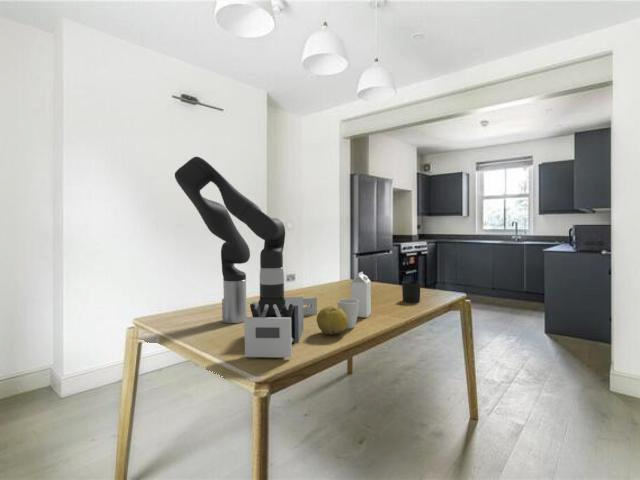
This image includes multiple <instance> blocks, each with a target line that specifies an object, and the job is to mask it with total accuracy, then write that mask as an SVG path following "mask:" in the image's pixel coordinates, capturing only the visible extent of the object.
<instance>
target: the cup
mask: <svg viewBox="0 0 640 480" xmlns="http://www.w3.org/2000/svg"><path fill="white" fill-rule="evenodd" d="M337 308H340V309H342V310H343V311H344V313H345V314H346V315H347V317H348V326H347V327H346V329H354V328H355V326H356V323H357V321H358V320H357V319H358V317H357V314H358V300H354V299H351V298H343V299H338V300H337Z"/></svg>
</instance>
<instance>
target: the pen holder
mask: <svg viewBox="0 0 640 480" xmlns="http://www.w3.org/2000/svg"><path fill="white" fill-rule="evenodd" d="M401 291H402V301H403V302H404V303H419V302H420V301H421V281H419V280H411V281H408V282H407V281H404V280H403V281H401Z"/></svg>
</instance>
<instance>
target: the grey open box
mask: <svg viewBox="0 0 640 480" xmlns="http://www.w3.org/2000/svg"><path fill="white" fill-rule="evenodd" d="M303 298H304V297H303V296H284V299H285V301H286V302H288V303H294V307H293V311H292V316H291V337H293V341H292V343H299V342H300V340H301V337H302V334H303V331H304V316H303V307H304V305H303ZM257 311H258V315H259V317H261V316H262V313H263V310H262V309H261V307H260V306H258V309H257ZM282 313H283V316H284V317H287V313H288V310H287V309H286V306H284V307H283V308H282ZM267 317H277V315H274V314H270V315H267Z"/></svg>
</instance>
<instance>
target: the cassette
mask: <svg viewBox="0 0 640 480" xmlns="http://www.w3.org/2000/svg"><path fill="white" fill-rule="evenodd" d="M304 306H305V307H304ZM314 315H318V298H317V297H316V296H313V297H303V317H305V316H306V317H307V316H314Z"/></svg>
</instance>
